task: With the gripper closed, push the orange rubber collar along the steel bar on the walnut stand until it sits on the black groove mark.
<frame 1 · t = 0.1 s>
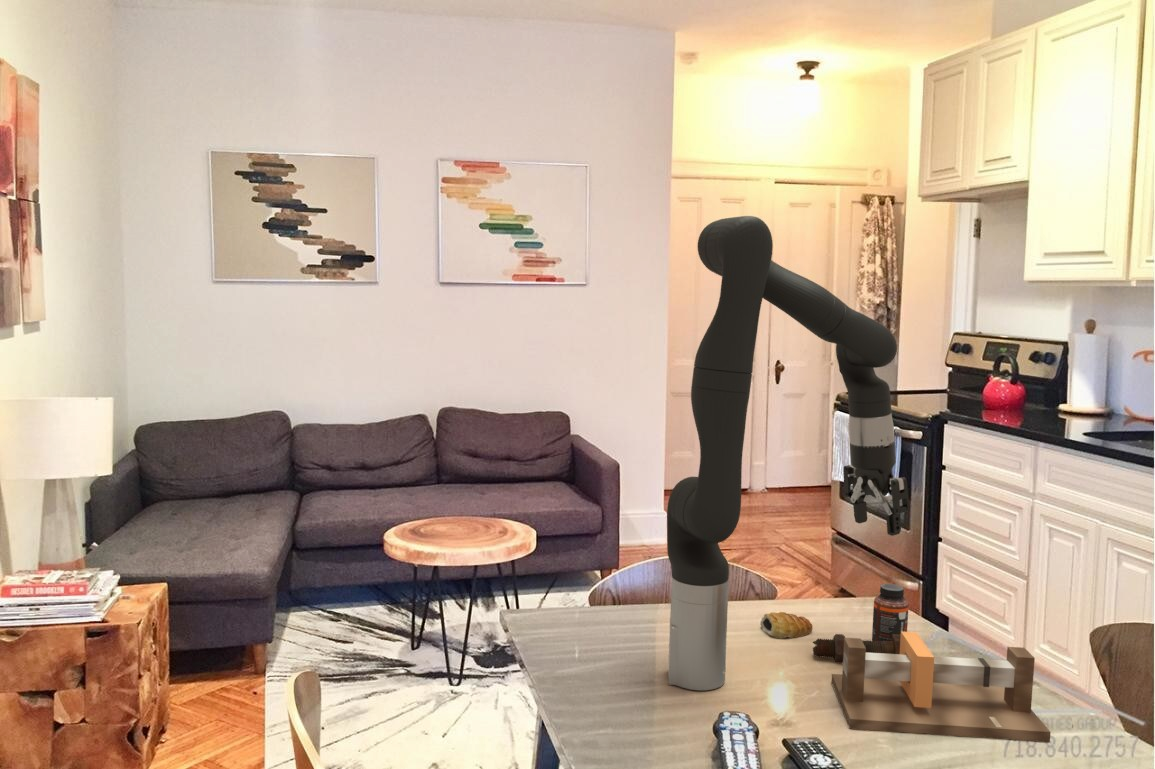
hand: (877, 528, 161), 22 cm above the table, tool pointing down, fingers open, 8 cm apart
supplement bottle: (888, 648, 165), on the table
pipe stand: (933, 710, 140), on the table
pastry: (784, 633, 172), on the table
bolt: (856, 663, 159), on the table
collar: (915, 668, 140), point 7 cm above the table, slide at 0.0 cm
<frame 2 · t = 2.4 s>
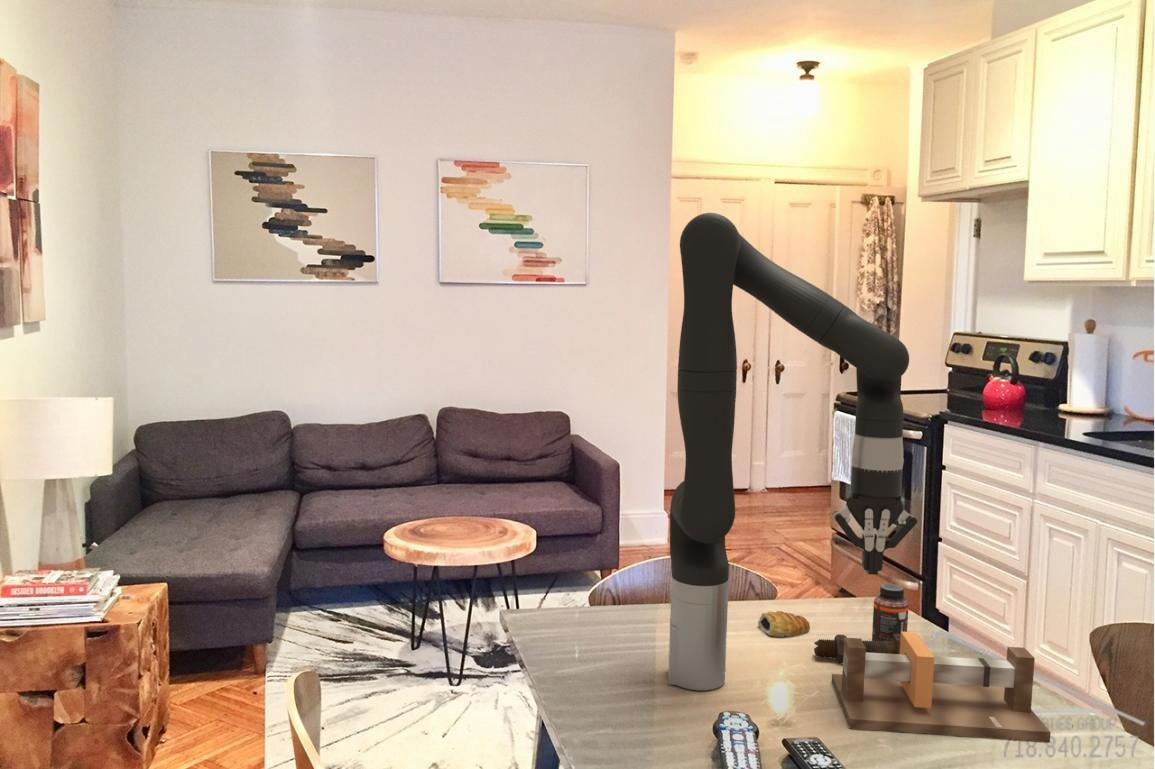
hand: (871, 572, 143), 20 cm above the table, tool pointing down, fingers closed
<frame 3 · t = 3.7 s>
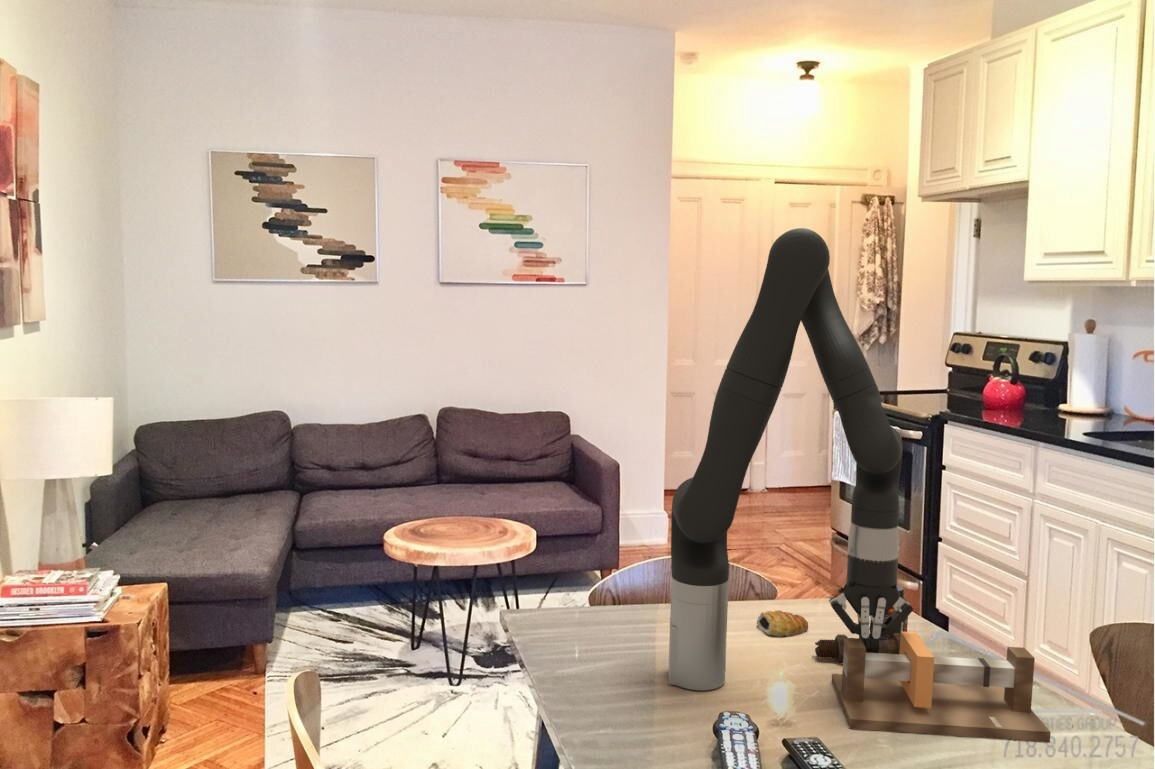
hand: (867, 658, 144), 6 cm above the table, tool pointing down, fingers closed
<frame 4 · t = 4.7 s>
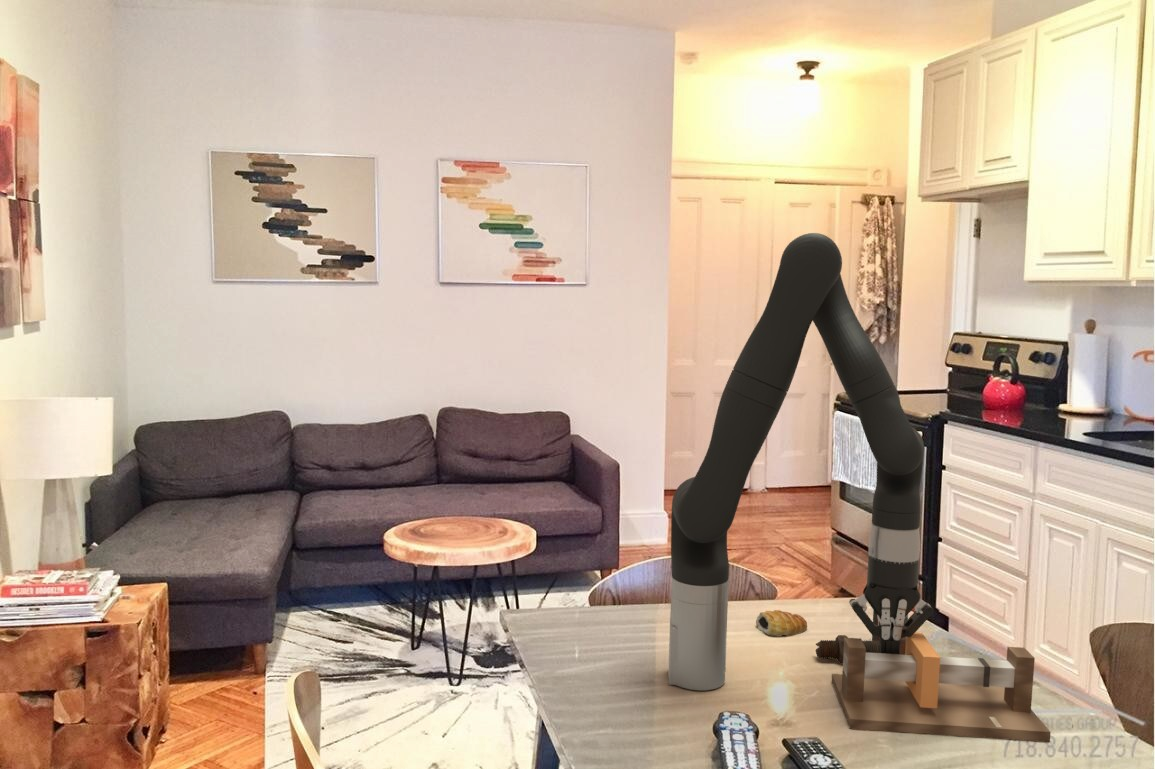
hand: (888, 660, 144), 6 cm above the table, tool pointing down, fingers closed
collar: (921, 668, 140), point 6 cm above the table, slide at 0.9 cm, touching gripper
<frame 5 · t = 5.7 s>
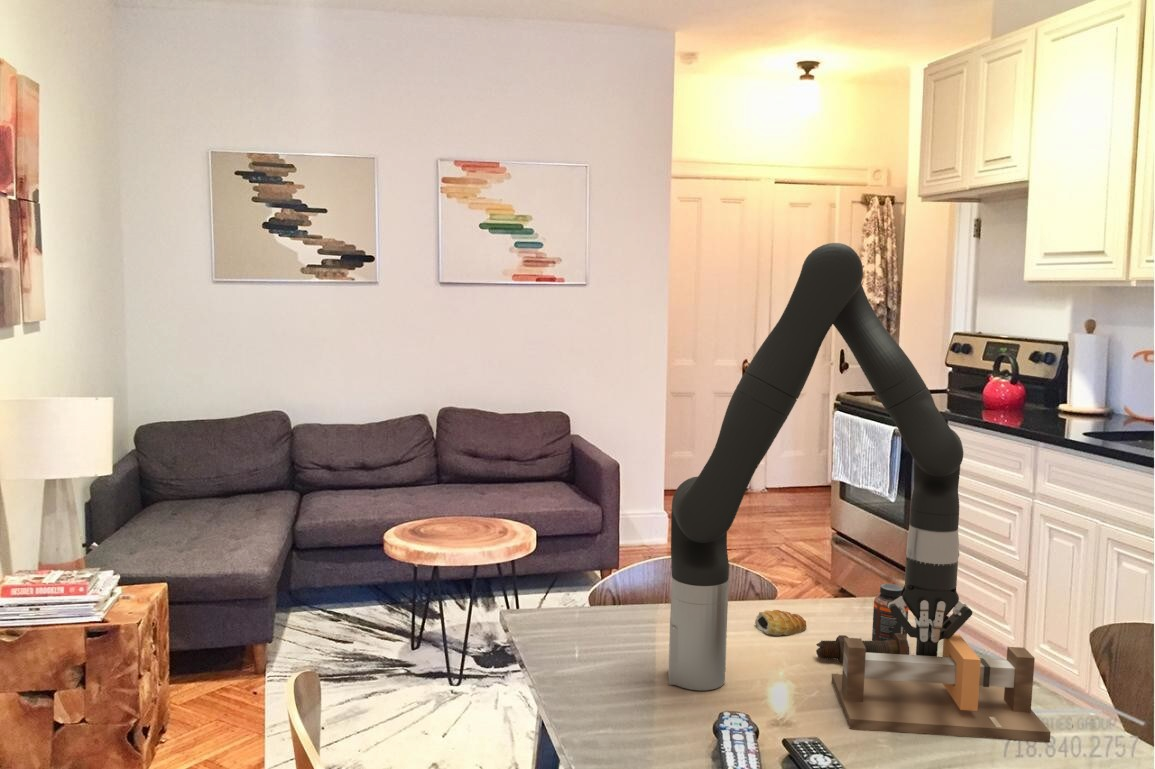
hand: (925, 662, 143), 6 cm above the table, tool pointing down, fingers closed
collar: (960, 671, 139), point 6 cm above the table, slide at 6.6 cm, touching gripper
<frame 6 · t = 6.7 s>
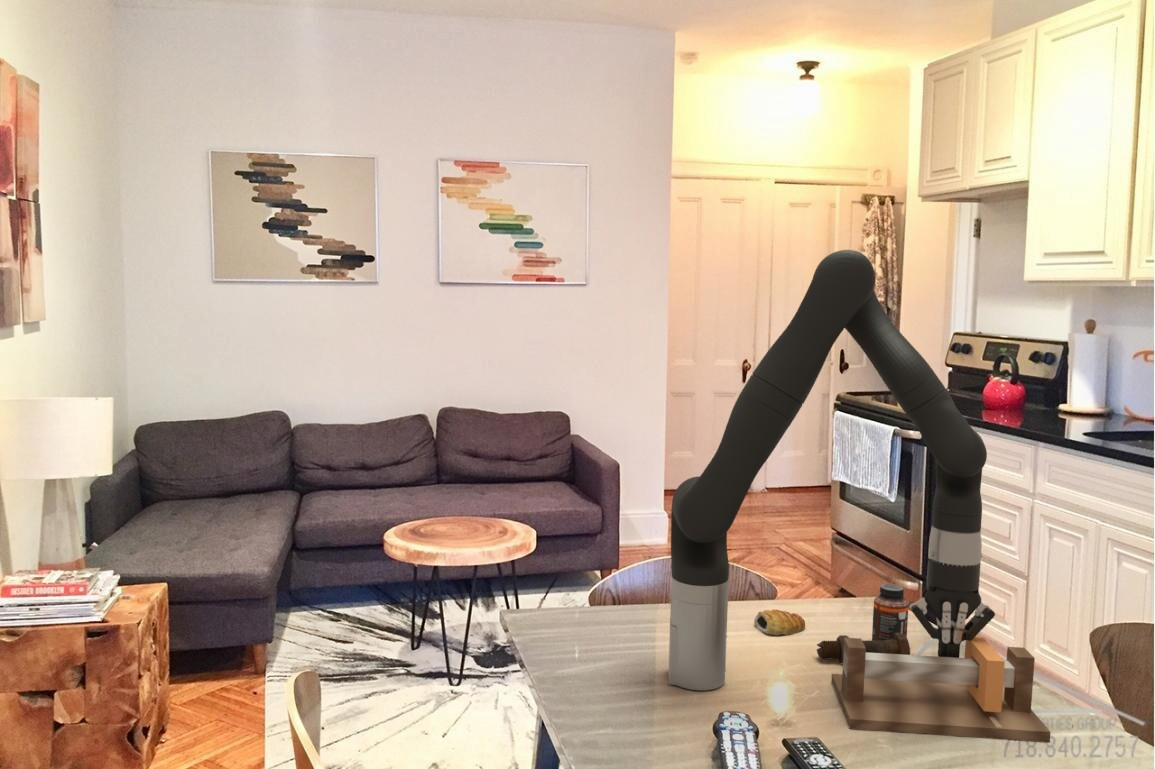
hand: (947, 664, 143), 6 cm above the table, tool pointing down, fingers closed
collar: (982, 672, 139), point 6 cm above the table, slide at 9.9 cm, touching gripper
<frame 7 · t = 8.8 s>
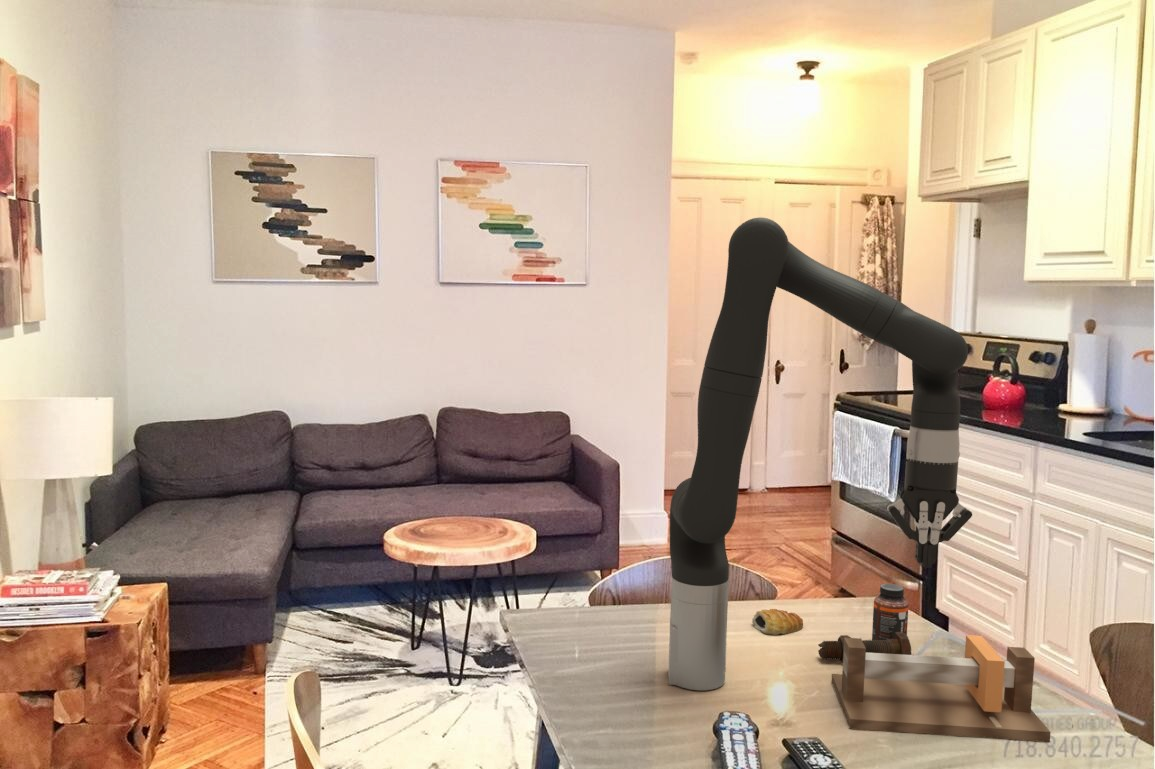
hand: (924, 565, 142), 21 cm above the table, tool pointing down, fingers closed
collar: (983, 672, 139), point 6 cm above the table, slide at 10.0 cm
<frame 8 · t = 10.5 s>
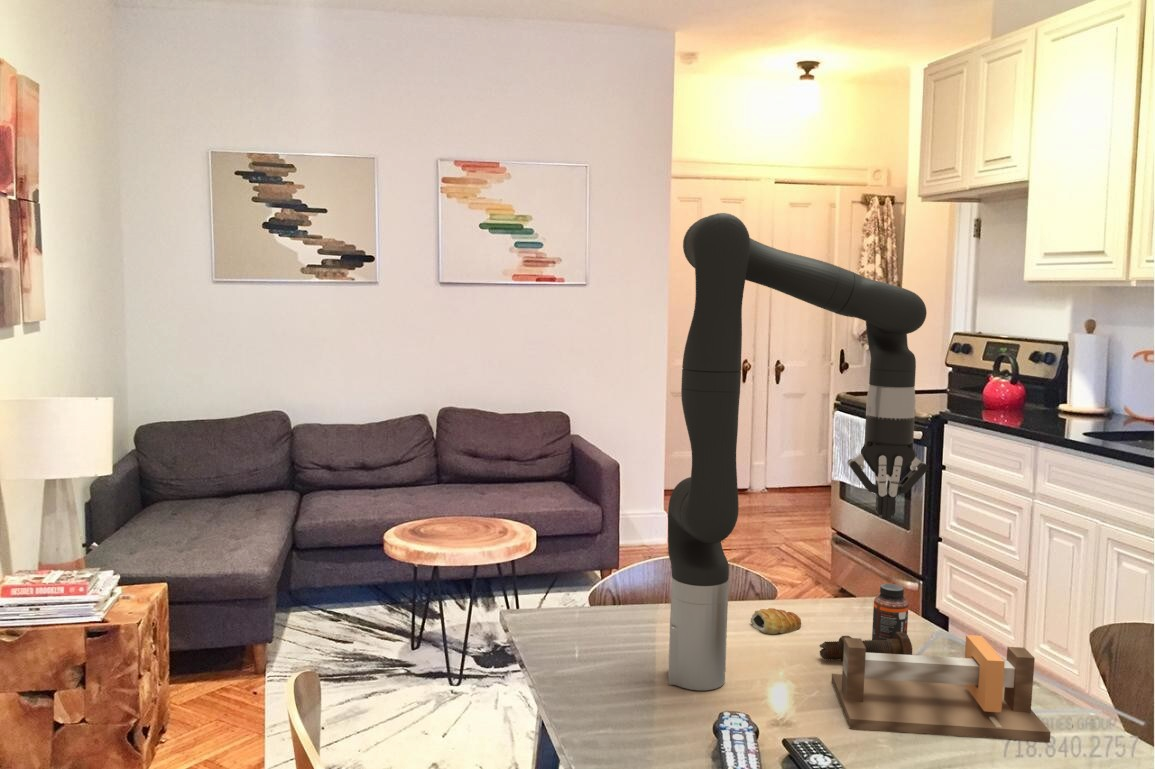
hand: (884, 517, 150), 27 cm above the table, tool pointing down, fingers closed
at the end: collar slide at 10.0 cm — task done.
